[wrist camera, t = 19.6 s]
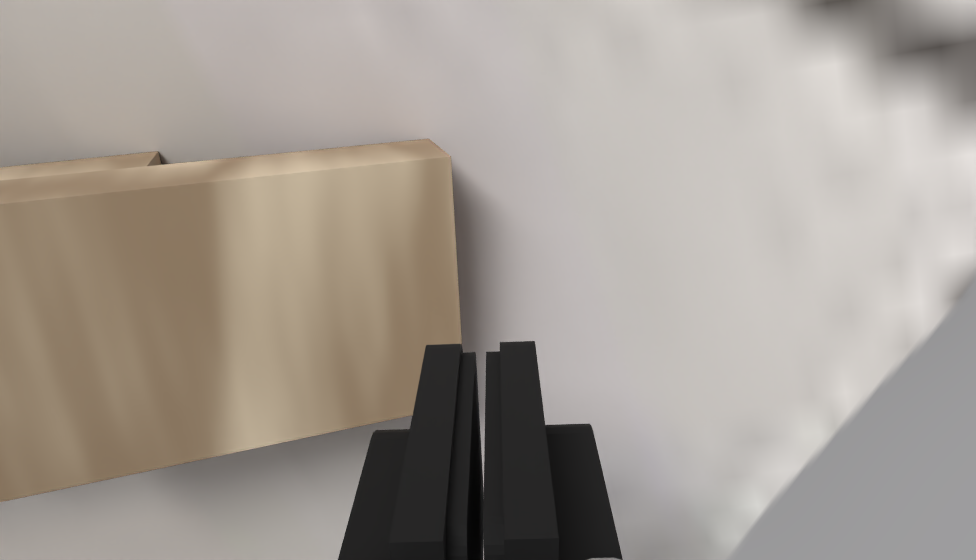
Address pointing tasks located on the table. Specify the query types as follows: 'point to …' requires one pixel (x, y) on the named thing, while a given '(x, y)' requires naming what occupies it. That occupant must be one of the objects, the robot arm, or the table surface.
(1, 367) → the domino
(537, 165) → the table surface
